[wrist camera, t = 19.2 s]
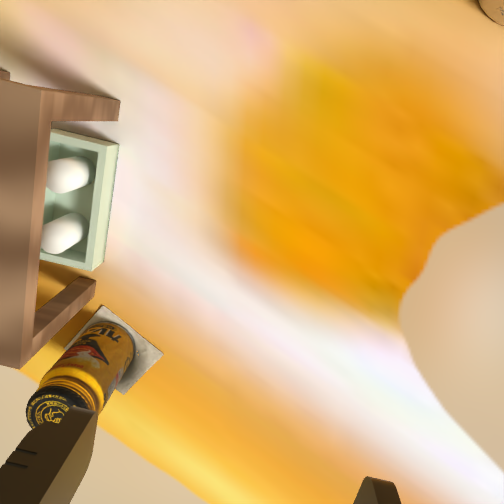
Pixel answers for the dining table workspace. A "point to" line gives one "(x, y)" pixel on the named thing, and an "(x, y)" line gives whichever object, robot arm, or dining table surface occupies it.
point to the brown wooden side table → (33, 212)
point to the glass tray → (77, 199)
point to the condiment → (92, 369)
